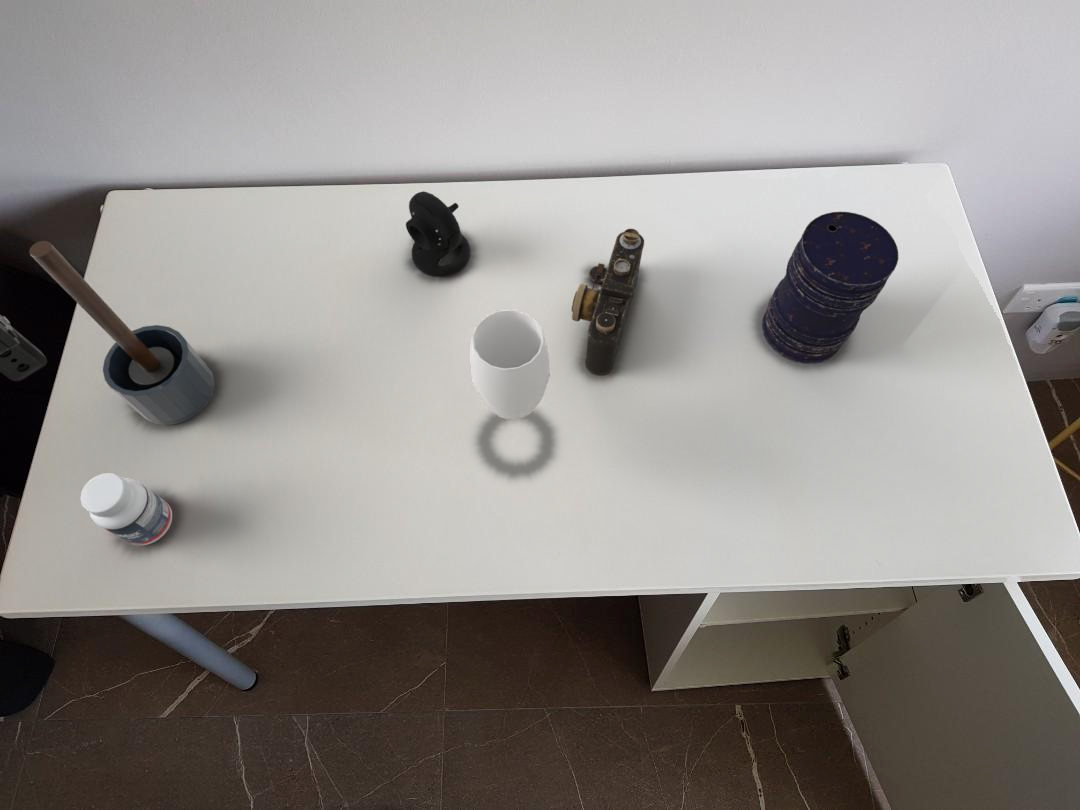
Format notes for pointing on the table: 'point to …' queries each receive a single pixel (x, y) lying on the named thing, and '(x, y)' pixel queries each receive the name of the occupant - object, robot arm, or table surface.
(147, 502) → the pill bottle
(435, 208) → the webcam
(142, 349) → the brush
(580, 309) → the camera
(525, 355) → the white tall cylinder
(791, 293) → the navy stacked disc cylinder
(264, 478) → the table surface
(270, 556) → the table surface
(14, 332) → the robot arm
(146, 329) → the gray open cylinder
